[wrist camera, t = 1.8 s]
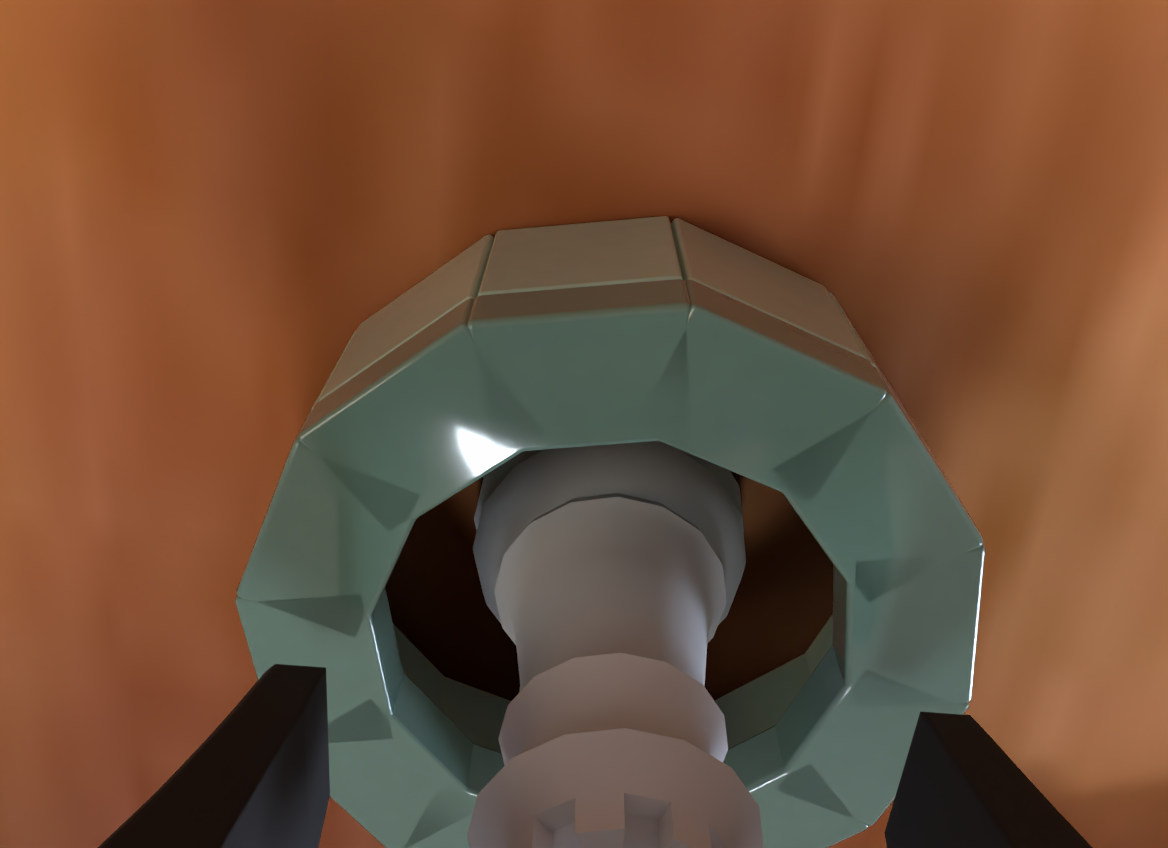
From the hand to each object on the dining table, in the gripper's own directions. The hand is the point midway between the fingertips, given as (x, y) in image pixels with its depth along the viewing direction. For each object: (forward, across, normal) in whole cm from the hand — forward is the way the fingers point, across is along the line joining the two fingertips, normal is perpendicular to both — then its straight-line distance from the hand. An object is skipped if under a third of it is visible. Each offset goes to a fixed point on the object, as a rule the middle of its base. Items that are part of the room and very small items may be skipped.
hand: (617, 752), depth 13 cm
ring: (+6, 0, 0) cm, 6 cm away
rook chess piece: (+6, 0, 0) cm, 6 cm away
